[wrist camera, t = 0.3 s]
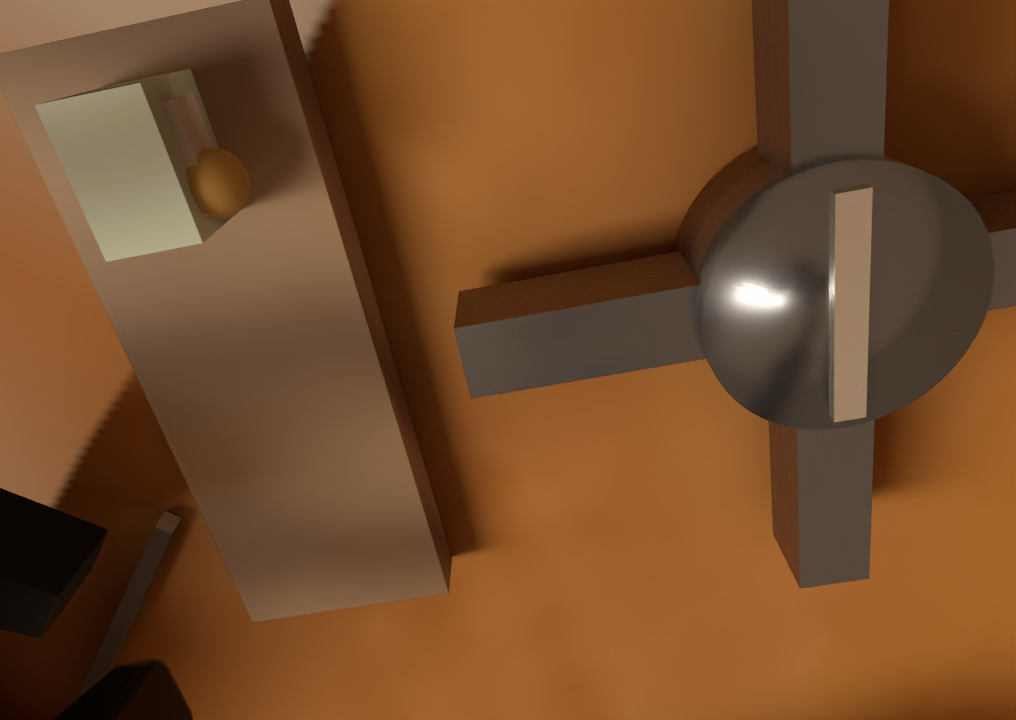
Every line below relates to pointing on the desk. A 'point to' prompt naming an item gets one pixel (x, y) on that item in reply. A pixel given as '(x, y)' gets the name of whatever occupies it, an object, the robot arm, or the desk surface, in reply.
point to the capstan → (785, 283)
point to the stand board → (240, 296)
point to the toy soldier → (65, 571)
